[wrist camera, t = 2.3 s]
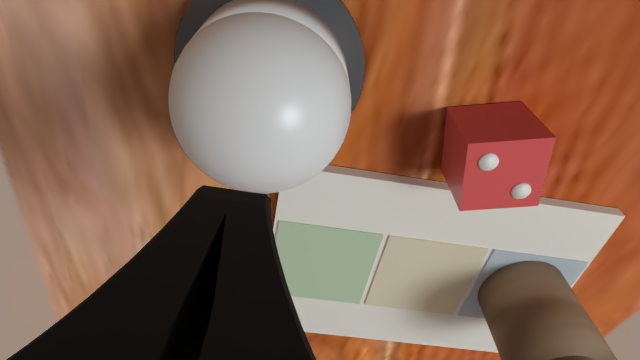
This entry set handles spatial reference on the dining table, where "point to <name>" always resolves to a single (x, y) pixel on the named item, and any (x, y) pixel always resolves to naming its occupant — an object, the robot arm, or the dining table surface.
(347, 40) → the dome base
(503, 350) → the pawn
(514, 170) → the red die
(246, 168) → the dome
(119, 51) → the dining table surface
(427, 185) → the game board
